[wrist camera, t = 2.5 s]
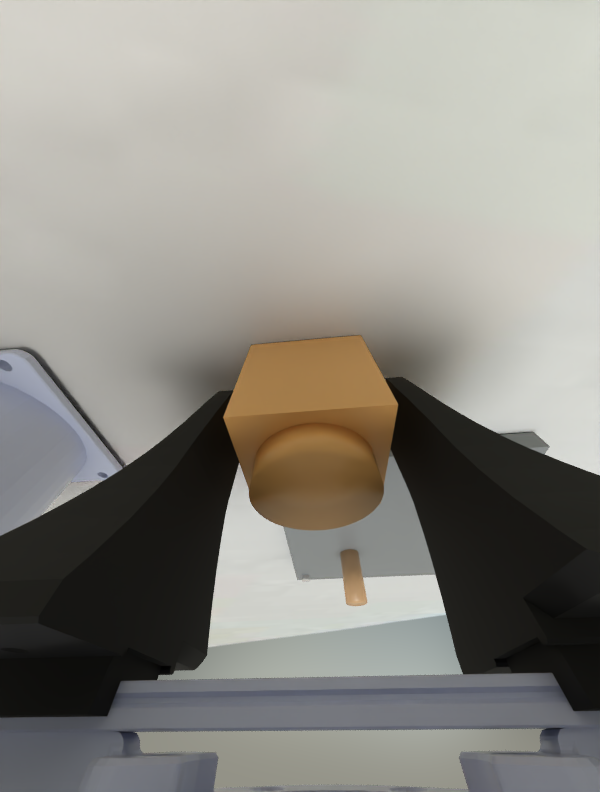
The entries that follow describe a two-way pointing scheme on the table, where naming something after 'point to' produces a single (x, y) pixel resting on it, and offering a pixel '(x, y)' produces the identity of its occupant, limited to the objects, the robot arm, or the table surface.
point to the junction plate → (374, 538)
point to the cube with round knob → (312, 431)
